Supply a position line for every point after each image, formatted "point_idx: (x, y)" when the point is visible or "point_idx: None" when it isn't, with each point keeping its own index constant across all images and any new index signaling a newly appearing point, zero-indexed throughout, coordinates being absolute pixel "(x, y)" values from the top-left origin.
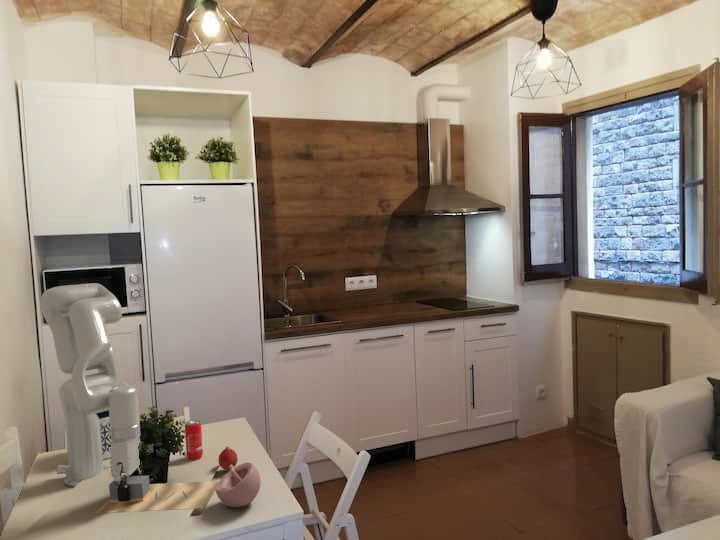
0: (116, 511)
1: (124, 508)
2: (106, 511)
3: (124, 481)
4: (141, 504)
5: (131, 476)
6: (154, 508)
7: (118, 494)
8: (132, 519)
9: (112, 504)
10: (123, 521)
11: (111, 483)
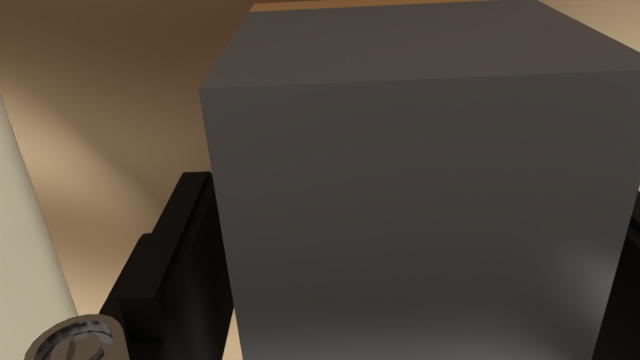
0: (50, 190)
1: (129, 240)
2: (25, 71)
3: (368, 322)
4: (224, 353)
5: (580, 355)
6: None
7: (158, 230)
8: (69, 304)
9: (210, 58)
10: (20, 250)
11: (286, 107)
